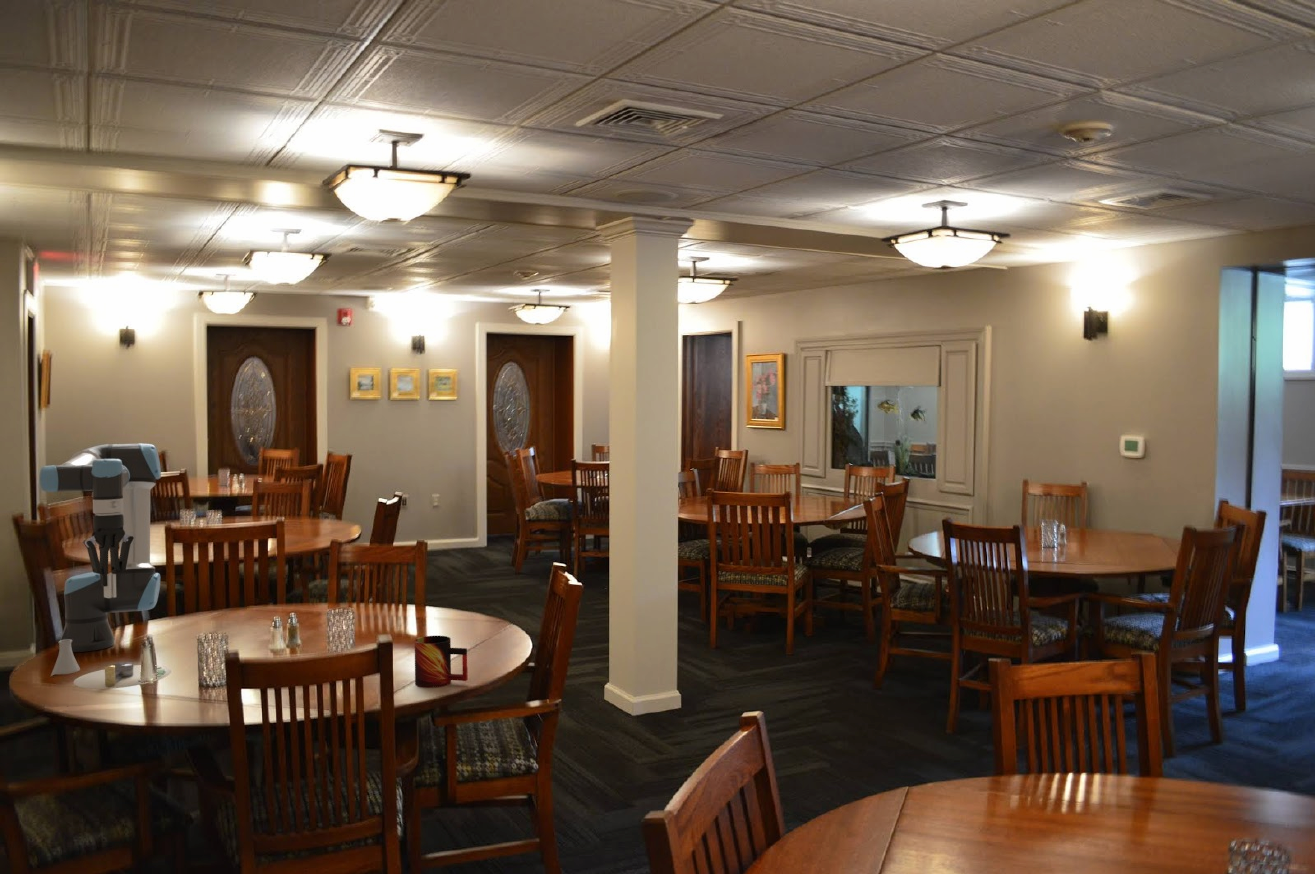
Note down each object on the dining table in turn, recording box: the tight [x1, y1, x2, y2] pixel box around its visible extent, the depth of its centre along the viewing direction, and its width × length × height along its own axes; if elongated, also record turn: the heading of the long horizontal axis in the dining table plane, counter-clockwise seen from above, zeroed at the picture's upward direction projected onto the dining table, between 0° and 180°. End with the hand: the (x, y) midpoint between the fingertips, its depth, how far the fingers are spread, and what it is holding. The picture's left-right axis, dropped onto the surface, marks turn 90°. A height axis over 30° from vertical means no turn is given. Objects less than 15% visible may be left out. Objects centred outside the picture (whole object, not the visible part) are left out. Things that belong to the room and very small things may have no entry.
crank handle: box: [104, 661, 134, 687], centre depth 274 cm, size 14×5×5 cm, turn 10°
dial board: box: [73, 664, 172, 690], centre depth 278 cm, size 24×24×1 cm
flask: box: [50, 639, 81, 677], centre depth 284 cm, size 7×7×10 cm
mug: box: [414, 635, 469, 689], centre depth 275 cm, size 10×14×12 cm
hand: (110, 596), depth 282 cm, fingers closed
